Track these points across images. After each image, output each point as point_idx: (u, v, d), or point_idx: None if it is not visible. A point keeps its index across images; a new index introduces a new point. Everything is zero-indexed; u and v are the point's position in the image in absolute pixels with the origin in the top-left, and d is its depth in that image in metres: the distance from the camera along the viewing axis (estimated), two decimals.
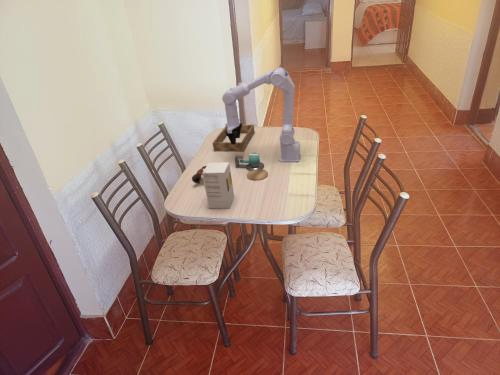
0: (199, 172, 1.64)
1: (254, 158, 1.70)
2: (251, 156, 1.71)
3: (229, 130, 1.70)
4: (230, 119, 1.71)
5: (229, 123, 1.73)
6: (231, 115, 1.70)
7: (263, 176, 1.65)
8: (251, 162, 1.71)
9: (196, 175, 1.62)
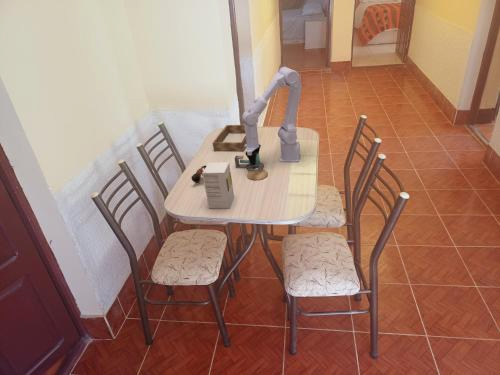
0: (199, 172, 1.64)
1: None
2: None
3: (249, 152, 1.63)
4: (250, 140, 1.65)
5: (249, 144, 1.67)
6: (254, 136, 1.64)
7: (263, 176, 1.65)
8: None
9: (196, 175, 1.62)
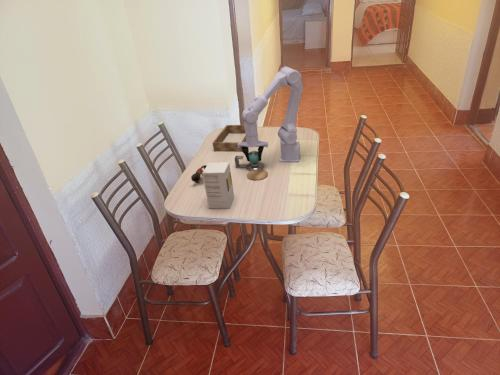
0: (198, 171, 1.65)
1: None
2: (251, 152, 1.72)
3: None
4: None
5: None
6: (254, 134, 1.64)
7: (263, 176, 1.65)
8: None
9: (195, 174, 1.62)
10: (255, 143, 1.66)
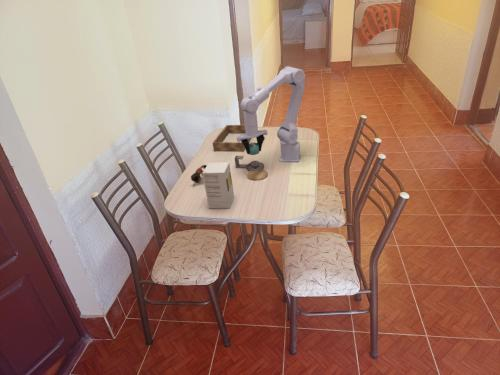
0: (198, 171, 1.65)
1: None
2: (249, 144, 1.66)
3: (237, 138, 1.61)
4: (245, 128, 1.60)
5: (245, 131, 1.62)
6: (254, 124, 1.58)
7: (263, 176, 1.65)
8: None
9: (195, 174, 1.63)
10: (257, 132, 1.61)
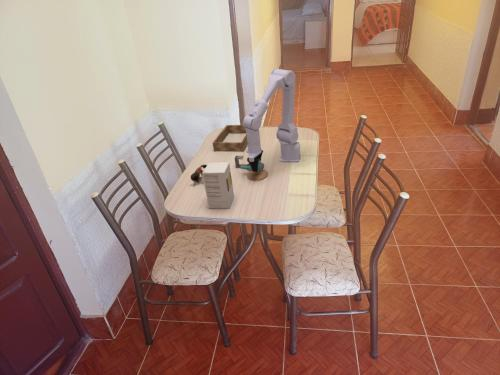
0: (197, 171, 1.65)
1: None
2: None
3: (251, 158, 1.55)
4: (252, 146, 1.57)
5: (250, 150, 1.59)
6: (258, 140, 1.57)
7: (263, 176, 1.65)
8: None
9: (195, 174, 1.63)
10: None
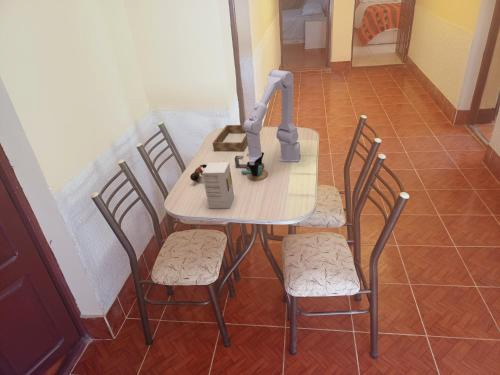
0: (197, 170, 1.65)
1: None
2: None
3: (251, 162, 1.56)
4: (252, 150, 1.58)
5: (251, 154, 1.60)
6: (259, 144, 1.58)
7: (263, 176, 1.65)
8: None
9: (194, 173, 1.63)
10: None
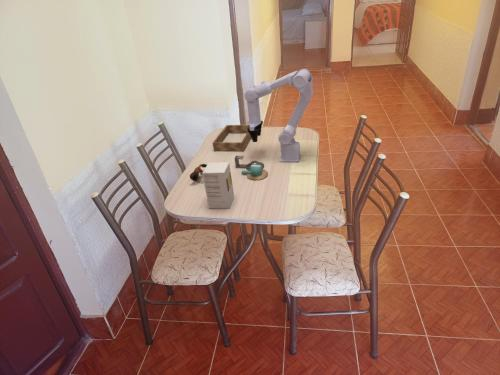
0: (197, 170, 1.66)
1: (255, 170, 1.64)
2: (253, 167, 1.65)
3: (252, 127, 1.70)
4: (252, 116, 1.71)
5: (251, 121, 1.73)
6: (252, 113, 1.70)
7: (263, 176, 1.65)
8: (252, 174, 1.65)
9: (194, 173, 1.64)
10: None
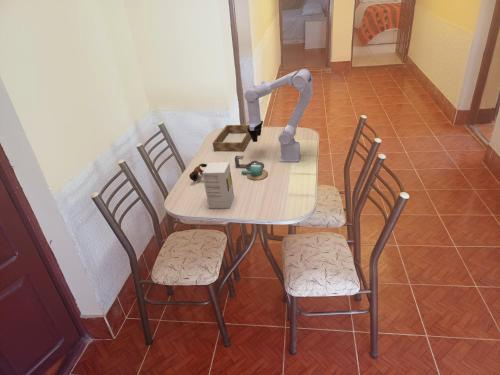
0: (196, 170, 1.66)
1: (256, 170, 1.64)
2: (253, 167, 1.65)
3: (252, 127, 1.70)
4: (252, 116, 1.71)
5: (251, 120, 1.73)
6: (252, 112, 1.70)
7: (263, 176, 1.65)
8: (252, 174, 1.65)
9: (193, 172, 1.64)
10: None
